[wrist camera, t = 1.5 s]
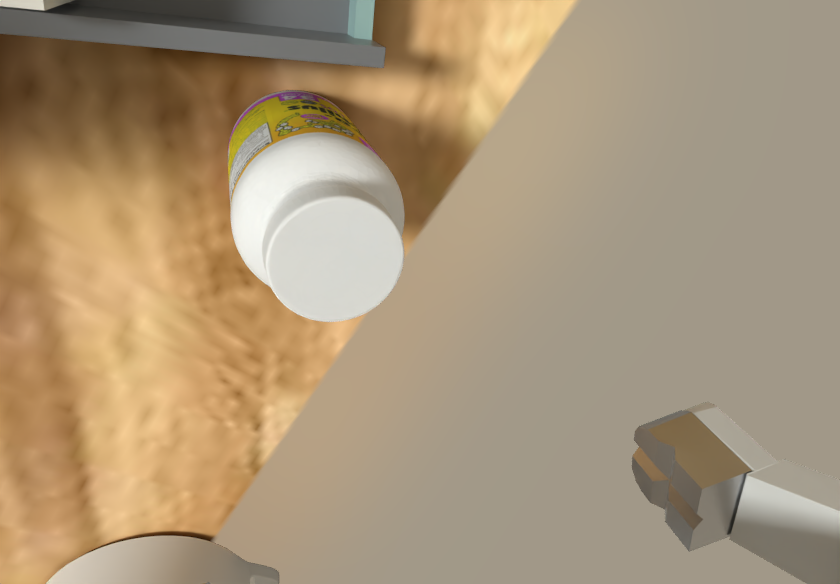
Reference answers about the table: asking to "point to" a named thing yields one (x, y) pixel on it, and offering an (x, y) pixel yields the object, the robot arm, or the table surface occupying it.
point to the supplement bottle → (314, 207)
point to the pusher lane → (214, 27)
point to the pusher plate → (33, 4)
